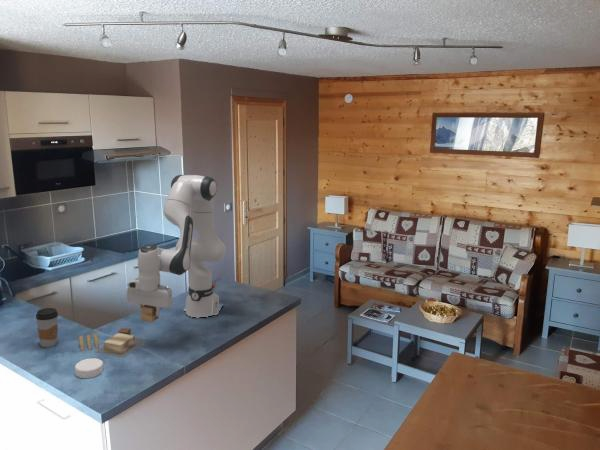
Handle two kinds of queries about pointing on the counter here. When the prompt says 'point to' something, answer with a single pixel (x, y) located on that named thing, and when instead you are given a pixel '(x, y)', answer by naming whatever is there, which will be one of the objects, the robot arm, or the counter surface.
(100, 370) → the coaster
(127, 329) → the block
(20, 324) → the counter surface
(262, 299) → the counter surface
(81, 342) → the ammunition
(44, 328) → the coffee cup
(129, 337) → the base block
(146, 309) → the oak block
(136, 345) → the mat
